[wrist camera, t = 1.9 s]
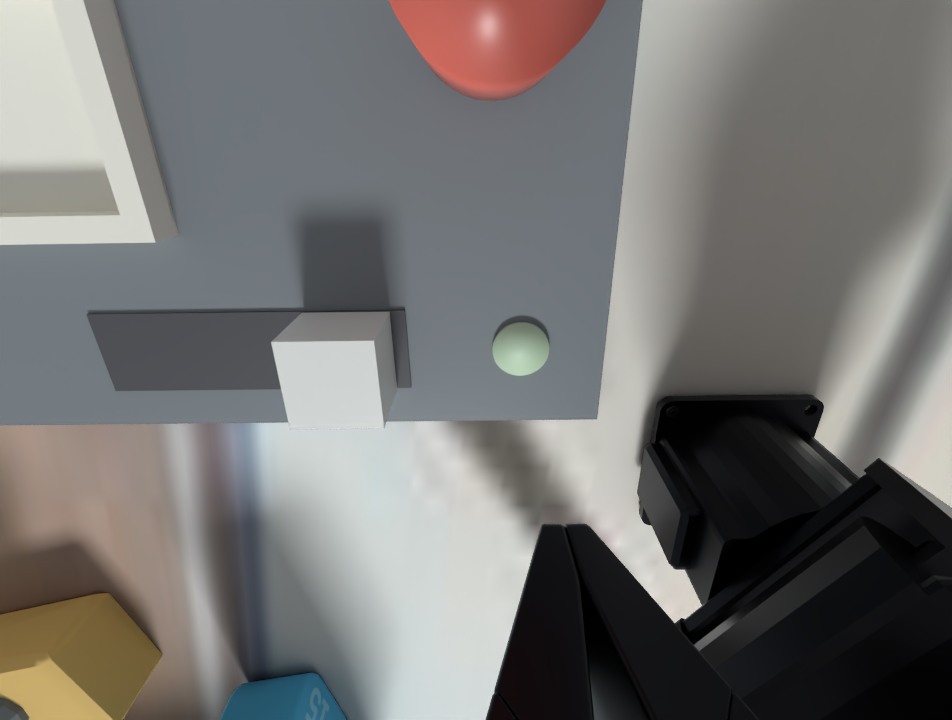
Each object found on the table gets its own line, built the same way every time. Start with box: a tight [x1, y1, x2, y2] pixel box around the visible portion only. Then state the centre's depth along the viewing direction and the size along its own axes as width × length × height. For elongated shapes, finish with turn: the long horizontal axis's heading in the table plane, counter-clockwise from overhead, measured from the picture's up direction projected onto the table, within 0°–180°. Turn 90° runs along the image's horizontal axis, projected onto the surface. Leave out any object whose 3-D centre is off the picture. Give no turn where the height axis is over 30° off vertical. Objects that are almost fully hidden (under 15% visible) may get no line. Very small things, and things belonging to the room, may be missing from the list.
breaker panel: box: [0, 0, 643, 425], centre depth 15 cm, size 24×17×3 cm
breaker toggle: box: [271, 312, 397, 429], centre depth 15 cm, size 3×3×3 cm
